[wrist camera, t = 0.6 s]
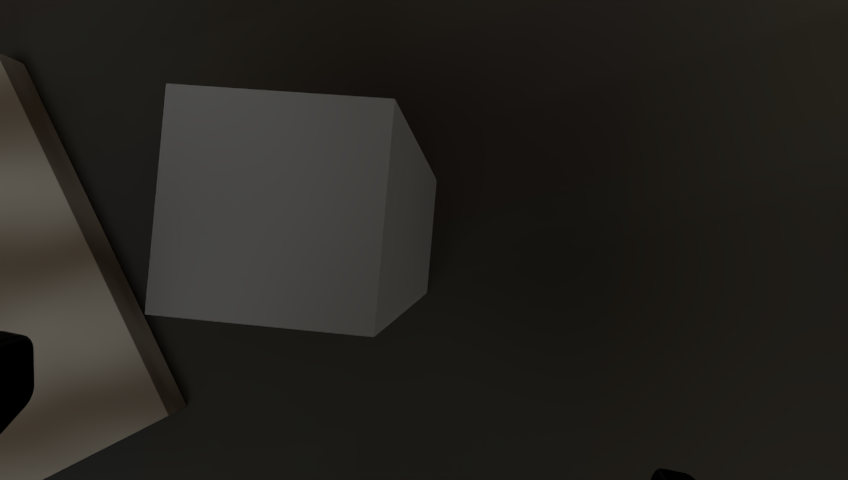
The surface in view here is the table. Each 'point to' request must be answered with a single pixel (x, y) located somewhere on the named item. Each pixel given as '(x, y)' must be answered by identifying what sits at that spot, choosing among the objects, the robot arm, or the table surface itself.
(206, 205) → the tall grey block
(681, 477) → the robot arm
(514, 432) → the table surface
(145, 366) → the oak plinth
